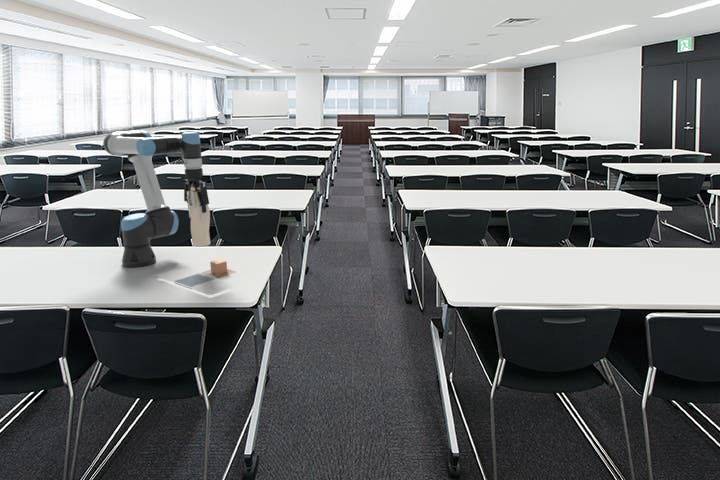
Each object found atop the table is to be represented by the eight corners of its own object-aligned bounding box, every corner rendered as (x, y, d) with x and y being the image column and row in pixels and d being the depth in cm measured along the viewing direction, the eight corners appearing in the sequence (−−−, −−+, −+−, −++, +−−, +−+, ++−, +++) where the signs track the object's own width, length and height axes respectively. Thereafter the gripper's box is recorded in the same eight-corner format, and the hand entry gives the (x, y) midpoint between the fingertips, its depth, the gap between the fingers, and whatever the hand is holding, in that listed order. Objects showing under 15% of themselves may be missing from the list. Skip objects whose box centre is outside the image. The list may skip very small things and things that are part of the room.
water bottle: (205, 248, 233) (199, 186, 225) (186, 247, 235) (180, 185, 227) (215, 242, 242) (210, 182, 235) (198, 241, 244) (192, 181, 237)
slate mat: (174, 283, 224) (174, 281, 224) (198, 275, 233) (198, 273, 233) (191, 289, 217) (191, 286, 217) (214, 281, 226) (214, 278, 226)
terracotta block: (211, 272, 234) (210, 261, 233) (220, 269, 238) (219, 259, 237) (218, 274, 231) (217, 263, 230) (227, 271, 235) (226, 261, 234)
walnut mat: (201, 274, 235) (201, 272, 234) (220, 268, 242) (219, 266, 242) (218, 279, 227) (218, 277, 227) (236, 273, 235) (236, 271, 235)
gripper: (172, 167, 233) (177, 216, 239) (200, 170, 221) (205, 223, 227) (186, 165, 239) (191, 213, 245) (215, 168, 226) (219, 219, 233)
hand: (197, 218), depth 236 cm, fingers closed on water bottle, 8 cm apart
